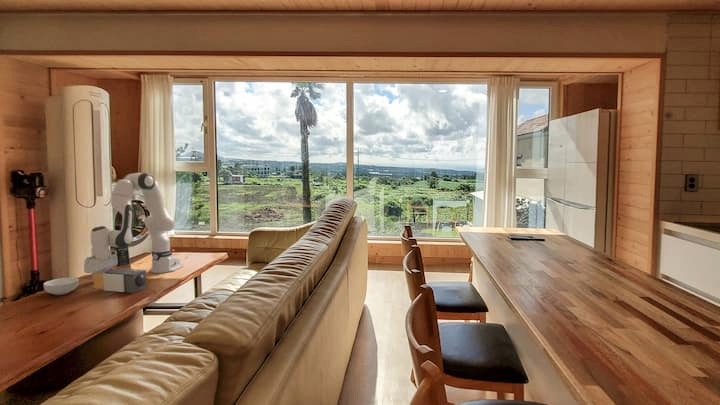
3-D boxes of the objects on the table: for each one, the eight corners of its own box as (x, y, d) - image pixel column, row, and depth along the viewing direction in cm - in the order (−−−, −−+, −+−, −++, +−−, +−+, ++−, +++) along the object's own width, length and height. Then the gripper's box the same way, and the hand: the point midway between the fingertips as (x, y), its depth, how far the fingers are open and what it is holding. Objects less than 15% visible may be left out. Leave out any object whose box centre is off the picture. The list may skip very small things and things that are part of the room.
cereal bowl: (86, 290, 245) (85, 278, 244) (58, 299, 229) (57, 287, 228) (66, 287, 250) (65, 275, 249) (37, 295, 235) (36, 283, 234)
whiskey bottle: (109, 271, 285) (106, 225, 281) (123, 267, 293) (120, 223, 289) (117, 273, 279) (114, 227, 276) (131, 269, 288) (129, 224, 284)
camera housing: (120, 284, 254) (119, 266, 253) (148, 288, 248) (147, 269, 247) (106, 290, 245) (105, 270, 243) (135, 293, 239) (134, 273, 237)
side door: (124, 291, 240) (123, 274, 239) (122, 292, 239) (121, 275, 238) (96, 289, 245) (95, 272, 243) (94, 289, 243) (93, 273, 242)
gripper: (88, 258, 233) (90, 282, 234) (118, 250, 252) (120, 272, 254) (80, 257, 234) (81, 281, 236) (110, 250, 254) (112, 271, 255)
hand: (102, 276), depth 245 cm, fingers closed
